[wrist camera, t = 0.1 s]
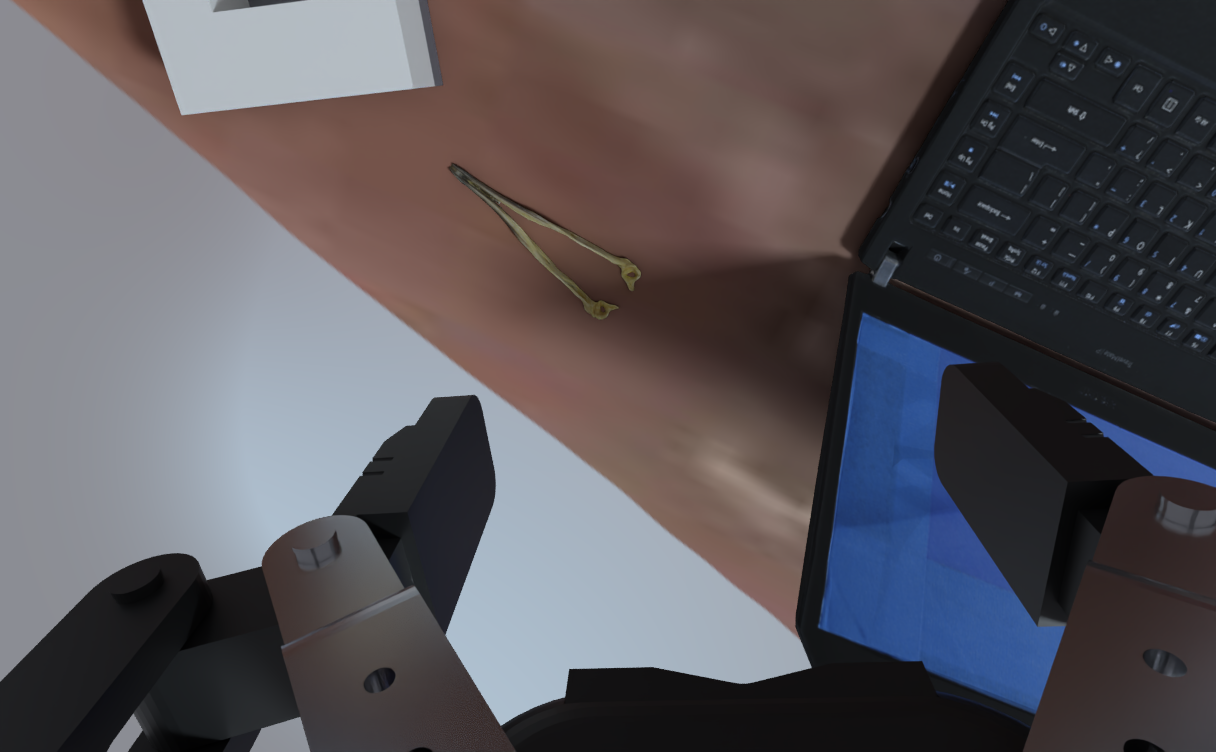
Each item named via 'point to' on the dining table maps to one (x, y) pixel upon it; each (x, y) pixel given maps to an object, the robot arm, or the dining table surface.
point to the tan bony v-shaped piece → (489, 198)
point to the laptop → (1019, 322)
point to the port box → (291, 50)
